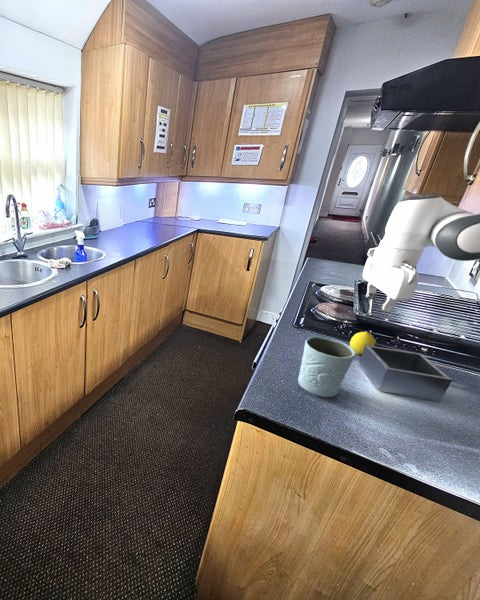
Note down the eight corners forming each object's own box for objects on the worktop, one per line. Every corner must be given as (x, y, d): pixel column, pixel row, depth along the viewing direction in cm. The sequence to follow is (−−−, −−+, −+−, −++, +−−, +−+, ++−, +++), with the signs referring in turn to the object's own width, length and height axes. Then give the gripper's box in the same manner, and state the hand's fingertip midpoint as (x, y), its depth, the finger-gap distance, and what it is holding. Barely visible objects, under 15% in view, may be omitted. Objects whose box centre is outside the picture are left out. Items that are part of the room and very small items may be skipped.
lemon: (370, 354, 100) (379, 331, 97) (368, 362, 96) (378, 338, 93) (347, 347, 104) (356, 325, 100) (345, 355, 100) (353, 332, 97)
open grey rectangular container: (411, 373, 91) (421, 353, 89) (440, 402, 80) (452, 379, 78) (357, 364, 95) (365, 344, 92) (377, 390, 84) (387, 368, 81)
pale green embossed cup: (320, 402, 79) (335, 361, 74) (284, 378, 88) (296, 339, 83) (350, 393, 82) (366, 353, 77) (312, 370, 91) (324, 333, 86)
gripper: (434, 269, 78) (411, 320, 84) (392, 250, 96) (374, 293, 102) (402, 266, 80) (381, 316, 86) (366, 248, 98) (350, 291, 103)
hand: (377, 304), depth 94 cm, fingers open, 8 cm apart
